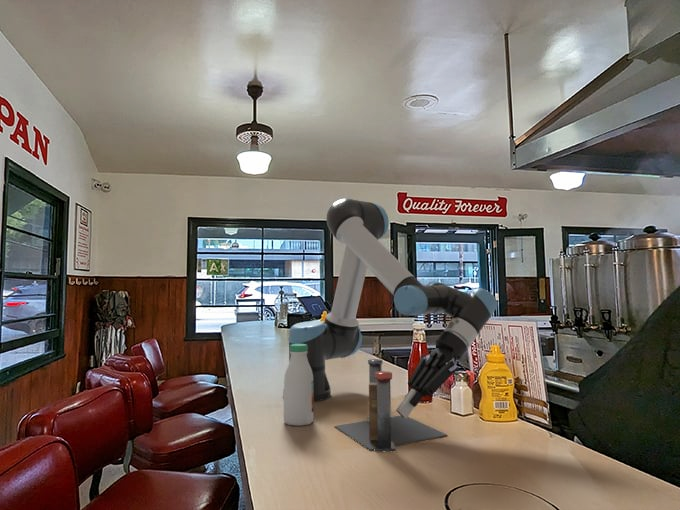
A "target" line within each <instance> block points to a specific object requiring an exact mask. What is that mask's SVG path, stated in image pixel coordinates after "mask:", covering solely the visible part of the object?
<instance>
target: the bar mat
mask: <svg viewBox="0 0 680 510" xmlns="http://www.w3.org/2000/svg"><path fill="white" fill-rule="evenodd" d="M334 428H335V429H336V430H338V431H340V432H341V433H342V434H343V435H346V436H347V437H349V438H350V437H351V438H350V439H352V438H353V439H354V440H353V439H352V440H353V441H355V440H356V441H357V443H358V442H359V443H360V444H359V443H358V444H359V445H361V444H362V445H363V446H362V445H361V446H362V447H364V446H365V447H366V448H365V447H364V448H365V449H367V450H368V449H369V450H368V451H370V450H372V451H375V450H374V449H375V448H374V444H373V442H377V440H369V423H368V421H367V420H363V421H358V422H349V423H344V424H338V425H334ZM445 437H448V434H447V433H445V432H443V431H440V430H438V429H436V428H434V427H431V426H429V425H428V424H425V423H424V422H420V421H419V420H416V419H414V418H412V417H409V416H408V417H407V418H406V419H405V418H403V417H402V416H401V415H400V414H399V415H394V416H391V442H393V443H394V446H395V447H397V446H396V445H398V446H402V445H401V444H403V445H407V444H406V443H409V444H412V442H414V443H418V442H424V441H430V440H433V439H434V440H435V439H439V438H445ZM356 441H355V442H356Z"/></svg>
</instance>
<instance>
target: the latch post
mask: <svg viewBox="0 0 680 510" xmlns="http://www.w3.org/2000/svg"><path fill="white" fill-rule="evenodd" d="M375 379H377V442H373V444H374V448H375V450H374V452H375V451H389V452H388V453H391V452H390V451H392V452H394V451H395V452H396V451H397V450H396V449H397V448H396V446H394V443H393V442H391V417H392V413H391V411H392V409H391V408H392V407H391V406H392V405H391V403H392V401H391V399H392V398H391V397H392V396H391V380H392V379H393V372H391V371H385V370H382V371H379V372H375Z"/></svg>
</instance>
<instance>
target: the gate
mask: <svg viewBox="0 0 680 510" xmlns="http://www.w3.org/2000/svg"><path fill="white" fill-rule="evenodd" d="M368 407H369V408H368V417H369V440H377V383H368Z"/></svg>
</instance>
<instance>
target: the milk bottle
mask: <svg viewBox="0 0 680 510" xmlns="http://www.w3.org/2000/svg"><path fill="white" fill-rule="evenodd" d="M307 350H308V346H307V345H306V344H292V345H290V353H291V358H290V362H289V361H288V365H287V367H286V369H285V373H284V379H283V390H284V397H283V422H284V423H285V424H286V425H288V426H291V427H292V426H296V427H300V426H301V427H302V426H308V425H310V424H312V423H313V422H314V413H315V412H314V411H315V409H314V404H315V403H314V402H315V401H314V394H313V373H312V370H311V367H310V365H309V363H308V359H307V353H308V352H307Z"/></svg>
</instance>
